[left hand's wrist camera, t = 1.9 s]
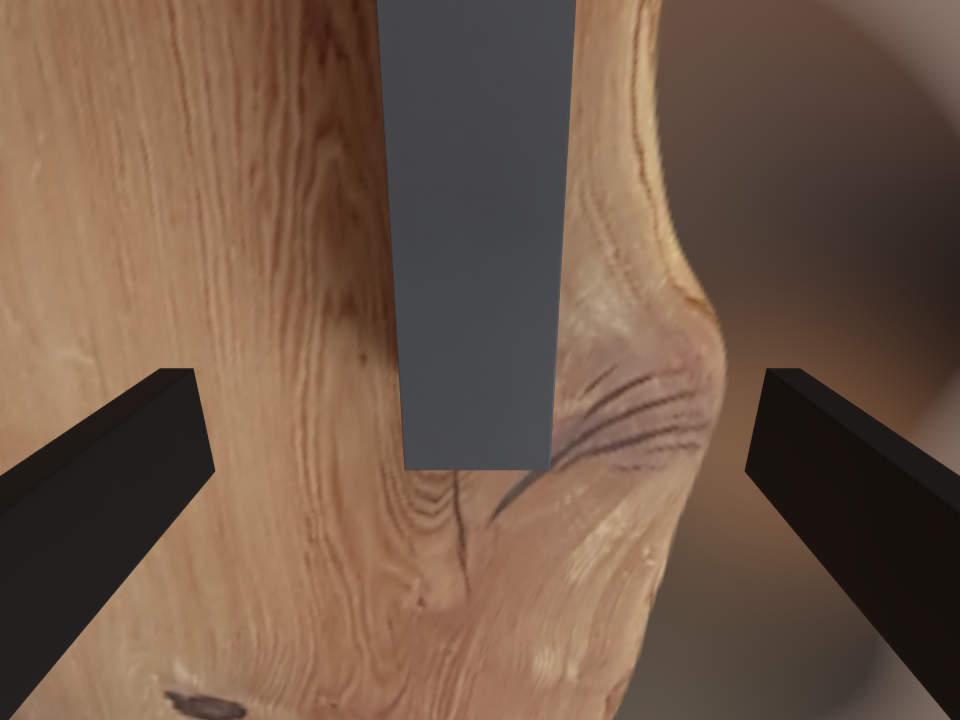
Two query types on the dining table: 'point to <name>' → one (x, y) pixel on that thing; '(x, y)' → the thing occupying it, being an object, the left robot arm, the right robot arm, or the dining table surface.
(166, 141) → the dining table surface
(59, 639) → the left robot arm
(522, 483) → the dining table surface
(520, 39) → the beam
